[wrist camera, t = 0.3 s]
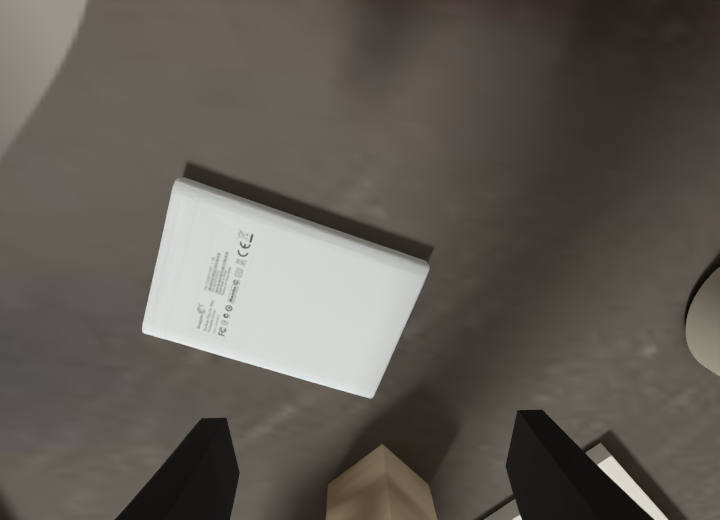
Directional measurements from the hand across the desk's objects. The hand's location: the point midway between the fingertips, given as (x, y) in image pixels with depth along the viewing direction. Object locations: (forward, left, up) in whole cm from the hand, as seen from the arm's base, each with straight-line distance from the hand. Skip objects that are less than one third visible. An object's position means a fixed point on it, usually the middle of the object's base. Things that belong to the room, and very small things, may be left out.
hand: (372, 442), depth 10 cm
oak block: (-8, -11, -11) cm, 17 cm away
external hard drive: (-3, +2, -11) cm, 12 cm away
